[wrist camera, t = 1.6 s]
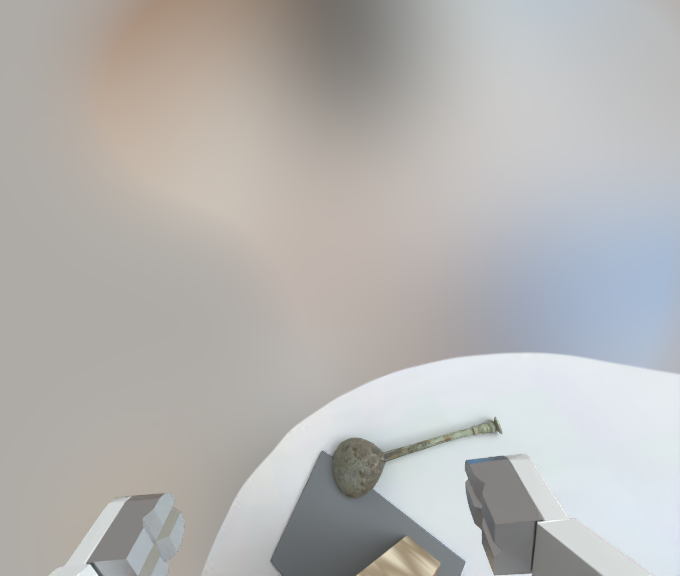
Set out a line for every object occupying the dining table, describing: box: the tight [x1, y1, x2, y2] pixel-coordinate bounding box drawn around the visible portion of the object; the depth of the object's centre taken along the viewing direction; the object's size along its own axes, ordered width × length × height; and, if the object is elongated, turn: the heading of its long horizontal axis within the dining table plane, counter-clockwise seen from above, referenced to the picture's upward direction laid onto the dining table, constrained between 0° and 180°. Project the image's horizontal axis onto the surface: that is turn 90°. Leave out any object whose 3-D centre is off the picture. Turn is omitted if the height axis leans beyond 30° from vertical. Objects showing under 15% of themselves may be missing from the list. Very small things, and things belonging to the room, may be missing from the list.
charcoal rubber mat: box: [271, 451, 465, 576], centre depth 38 cm, size 20×15×1 cm
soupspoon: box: [333, 417, 502, 498], centre depth 38 cm, size 22×3×7 cm
